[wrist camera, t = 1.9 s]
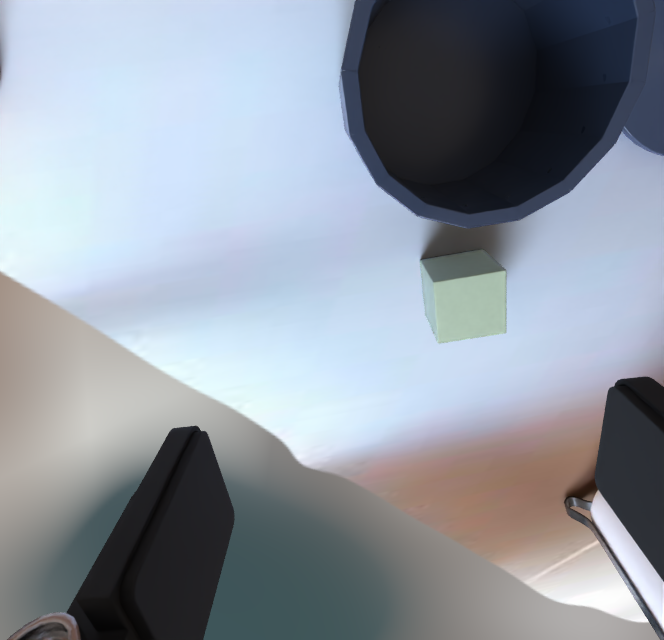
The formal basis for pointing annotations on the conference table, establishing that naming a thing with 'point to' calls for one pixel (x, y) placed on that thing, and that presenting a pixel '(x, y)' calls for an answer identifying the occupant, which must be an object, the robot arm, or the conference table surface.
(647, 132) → the lid
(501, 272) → the block
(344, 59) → the pot
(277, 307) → the conference table surface
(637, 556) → the coffee press
